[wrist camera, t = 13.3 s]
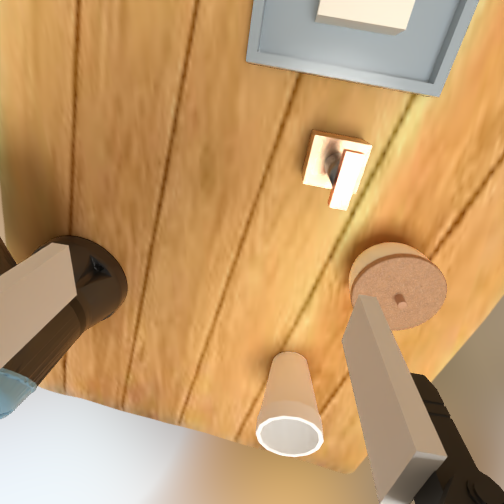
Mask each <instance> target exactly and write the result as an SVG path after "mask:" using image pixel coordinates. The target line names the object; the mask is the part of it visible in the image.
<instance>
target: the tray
mask: <svg viewBox="0 0 504 504" xmlns="http://www.w3.org/2000/svg"><path fill="white" fill-rule="evenodd" d="M478 2H479V0H415V3H414V6H413V9H412V12H411V15H410V18H409V21H408V24H407V27H406V30H404V31H402V32H400V33H399V34H397V35H395V36H392V35H386V34H380V33H375V32H369V31H363V30H357V29H352V28H346V27H340V26H334V25H328V24H323V23H317V22H315V20H316V15H317V10H318V5H319V0H254V2H253V10H252V17H251V25H250V33H249V40H248V48H247V56H246V62H248V63H250V64H256V65H261V66H266V67H272V68H277V69H282V70H288V71H293V72H299V73H304V74H309V75H315V76H320V77H326V78H331V79H336V80H342V81H347V82H353V83H358V84H363V85H369V86H374V87H380V88H385V89H390V90H396V91H401V92H407V93H412V94H417V95H423V96H428V97H439V96H440V94H441V91H442V89H443V87H444V84H445V82H446V79H447V77H448V75H449V72H450V70H451V67H452V65H453V62H454V60H455V58H456V55H457V53H458V50H459V48H460V45H461V43H462V41H463V38H464V36H465V33H466V31H467V28H468V26H469V24H470V21H471V19H472V16H473V14H474V11H475V9H476V7H477V4H478Z"/></svg>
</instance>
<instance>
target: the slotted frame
mask: <svg viewBox="0 0 504 504" xmlns="http://www.w3.org/2000/svg"><path fill="white" fill-rule="evenodd" d="M414 3H415V0H319V5H318V10H317V15H316V20H315V22H317V23H323V24H328V25H334V26H340V27H346V28H352V29H357V30H363V31H369V32H375V33H380V34H386V35H392V36H395V35H397V34H399V33H400V32H402V31H404V30H406V27H407V24H408V21H409V18H410V15H411V12H412V9H413V6H414Z"/></svg>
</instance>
